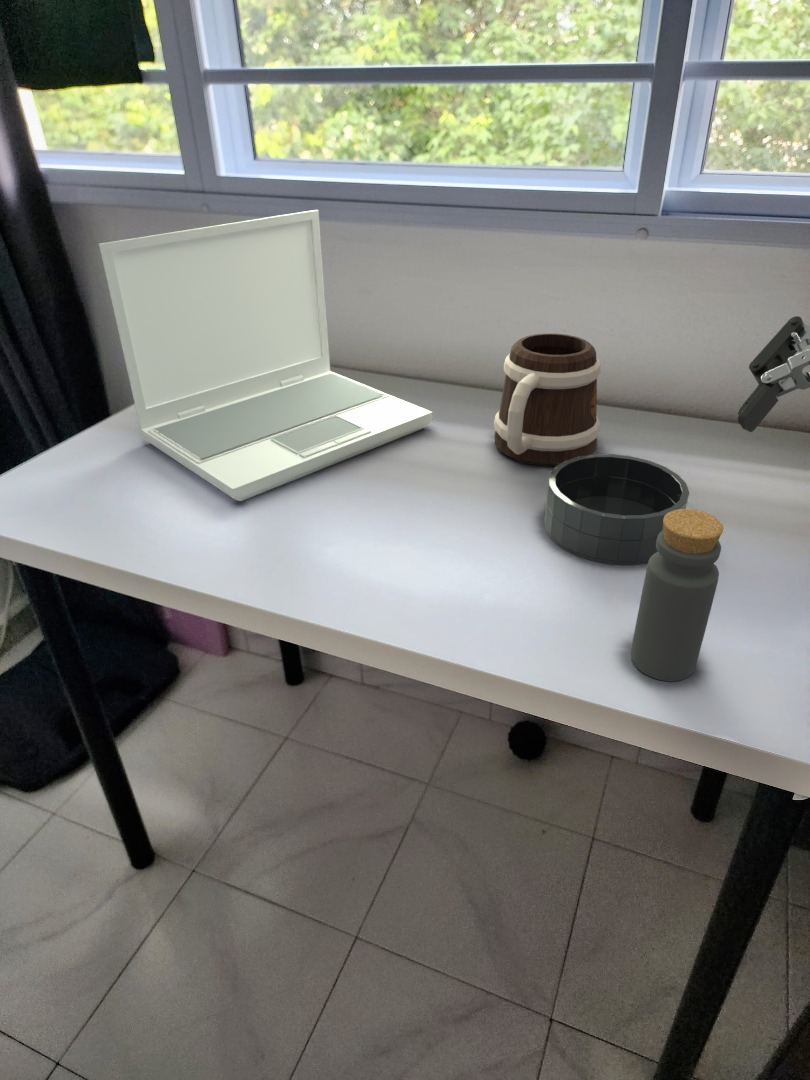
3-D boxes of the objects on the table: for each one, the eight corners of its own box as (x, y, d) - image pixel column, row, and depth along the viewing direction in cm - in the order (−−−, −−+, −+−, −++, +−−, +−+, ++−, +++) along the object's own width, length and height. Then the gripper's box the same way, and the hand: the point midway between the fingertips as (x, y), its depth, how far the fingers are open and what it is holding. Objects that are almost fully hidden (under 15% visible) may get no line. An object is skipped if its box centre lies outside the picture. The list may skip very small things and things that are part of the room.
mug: (518, 417, 118) (525, 321, 109) (611, 437, 111) (626, 337, 103) (458, 467, 103) (460, 362, 95) (561, 494, 97) (573, 383, 88)
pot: (701, 523, 90) (711, 479, 87) (640, 582, 80) (649, 534, 77) (586, 484, 99) (591, 442, 96) (519, 532, 89) (522, 488, 86)
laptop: (235, 507, 95) (198, 277, 80) (141, 443, 112) (96, 243, 96) (432, 427, 115) (433, 230, 99) (327, 383, 131) (314, 209, 116)
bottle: (617, 650, 71) (641, 514, 63) (665, 633, 73) (695, 499, 65) (658, 689, 66) (691, 548, 58) (709, 670, 68) (747, 531, 60)
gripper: (826, 240, 64) (702, 393, 66) (1005, 274, 53) (852, 455, 55) (847, 295, 69) (732, 436, 70) (1015, 336, 58) (875, 500, 60)
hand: (785, 444), depth 63 cm, fingers open, 8 cm apart
